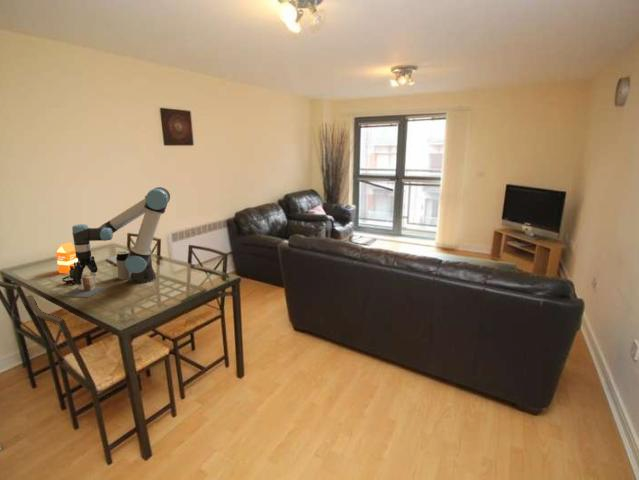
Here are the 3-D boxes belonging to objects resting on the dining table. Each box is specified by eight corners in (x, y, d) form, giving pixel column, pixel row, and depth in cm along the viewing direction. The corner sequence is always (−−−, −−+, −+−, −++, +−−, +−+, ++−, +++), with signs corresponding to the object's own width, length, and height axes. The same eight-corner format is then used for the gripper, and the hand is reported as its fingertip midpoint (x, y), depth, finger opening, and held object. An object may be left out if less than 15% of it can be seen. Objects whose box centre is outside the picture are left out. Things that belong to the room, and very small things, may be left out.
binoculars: (57, 270, 204) (72, 264, 213) (61, 286, 208) (76, 279, 217) (68, 272, 202) (83, 266, 211) (72, 288, 205) (86, 281, 214)
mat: (104, 288, 204) (104, 287, 204) (88, 298, 191) (88, 297, 190) (78, 287, 204) (78, 286, 204) (61, 296, 191) (60, 295, 191)
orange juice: (79, 269, 235) (75, 242, 230) (69, 273, 227) (65, 245, 222) (69, 268, 236) (65, 241, 231) (58, 272, 227) (54, 244, 222)
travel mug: (125, 280, 219) (123, 254, 215) (115, 279, 220) (112, 253, 216) (134, 276, 227) (132, 251, 222) (124, 275, 228) (122, 250, 224)
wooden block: (95, 288, 203) (93, 275, 201) (90, 290, 199) (89, 278, 197) (84, 287, 203) (82, 275, 201) (79, 290, 199) (77, 277, 197)
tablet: (127, 256, 271) (127, 253, 271) (142, 263, 255) (141, 260, 255) (105, 260, 259) (105, 257, 258) (119, 267, 243) (118, 264, 243)
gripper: (90, 245, 207) (94, 278, 212) (61, 255, 184) (67, 292, 190) (102, 246, 206) (105, 279, 212) (74, 256, 184) (79, 293, 190)
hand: (87, 285), depth 201 cm, fingers open, 10 cm apart
